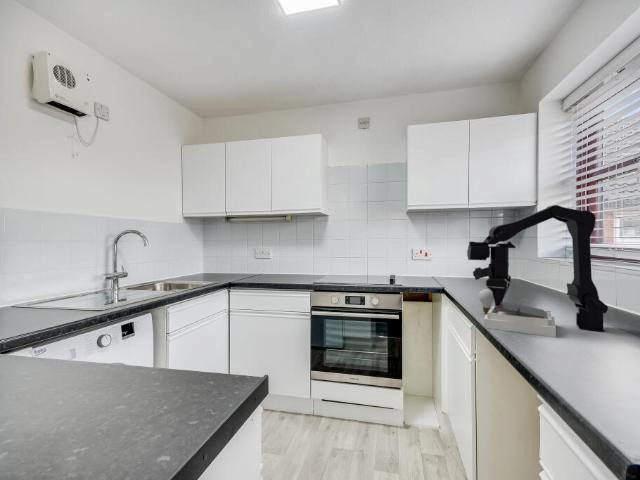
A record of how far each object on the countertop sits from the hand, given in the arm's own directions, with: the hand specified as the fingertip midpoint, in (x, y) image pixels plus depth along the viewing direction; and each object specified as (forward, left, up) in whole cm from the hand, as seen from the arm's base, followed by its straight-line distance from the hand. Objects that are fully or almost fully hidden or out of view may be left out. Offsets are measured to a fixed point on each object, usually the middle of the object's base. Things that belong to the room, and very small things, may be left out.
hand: (498, 304), depth 115 cm
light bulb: (+6, -15, -7) cm, 18 cm away
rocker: (-6, 0, -1) cm, 6 cm away
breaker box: (-6, 0, -7) cm, 9 cm away
